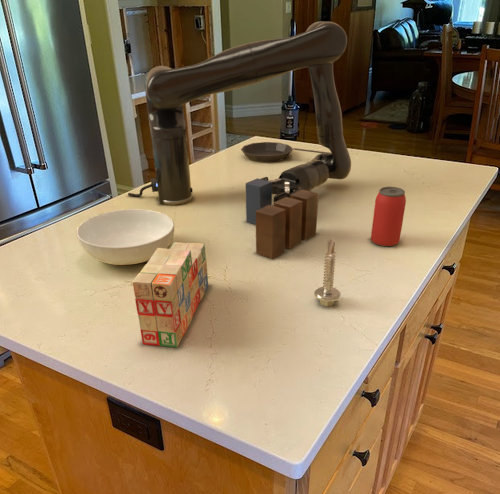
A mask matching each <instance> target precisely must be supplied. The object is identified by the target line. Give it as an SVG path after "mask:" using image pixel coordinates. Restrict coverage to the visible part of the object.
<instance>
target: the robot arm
mask: <svg viewBox="0 0 500 494" xmlns="http://www.w3.org/2000/svg"><path fill="white" fill-rule="evenodd" d="M347 45H348V36H347V33H346V31H345V30H344V28H343V27H342V26H341V25H339V24H337V23H336V22H334V21H324V20H323V21H322V20H321V21H316V22H313V23H312V24H310V25H309V26H308V27H307V29H306V30H305V31H304V32H301V33H298V34H296V35H293V36H288V37H282V38H272V39H263V40H257V41H251V42H247V43H243V44H239V45H237V46H233V47H230V48H227V49H225V50H222V51H221V52H218V53H217V54H215V55H213V56H211V57H209V58H207V59H205V60H204V61H201V62H198V63H196V64H192V65H187V66H182V67H176V68H172V67H169V66H166V65H157V66H155V67H153V68H151V69H150V70H149V71H148V73H147V74H146V76H145V79H144V92H145V100H146V109H147V116H148V124H149V131H150V138H151V146H152V154H153V161H154V162H153V163H154V171H155V173H154V174H155V177H154V178H153V177H152V178H150V184H147V185H145V186H143V187H141V188H140V189H139V193H134V192H133V193H132V192H128V193H127V196H129V197H133V198H140V197H142V196H143V192H144V191H146V190H147V189H149V188H151V192H152V193H157V198H158V202H159V205H167V206H168V205H169V206H174V205H176V206H177V205H183V204H187V203H189V202H191V201H192V199H193V193H194V192H193V188H192V182H191V170H190V158H189V148H188V147H189V146H188V135H187V124H186V119H185V111H184V105H186V104H189V103H190V102H193V101H196V100H198V99H200V98H203V97H206V96H210V95H216V94H221V93H224V92H225V93H226V92H230V91H234V90H238V89H243V88H246V87H249V86H253V85H257V84H260V83H262V82H265V81H268V80H272V79H273V78H278V76H279V77H280V76H282V75H284V74H288V73H290V72H293V71H296V70H301V69H304V68H308V71H309V77H310V82H311V88H312V93H313V94H312V95H313V100H314V102H313V103H314V111H315V120H316V122H315V123H316V124H315V125H316V134H317V141H318V144H319V146H321V147H323V148H327V149H328V150H329V151H330V152H328V153H317V155H315V156H314V157H313V158H312V160H311V161H308V162H306V163H302V164H298V165H296V166H294V167H290V168H289V169H286V170H284V171H282V172H281V173H280V174H279V177H278V178H275V179H271V180H270V179H269V177H268V176H264V177H261V178H260V179H262V180H266V181H270V182H272V196H273V195H274V196H273V203H274V202H276V201H278V200H280V199H283V198H285V197H288V198H290V195H291V194H293V193H296V192H298V191H300V190H306V191H310V192H312V190H314V189H316V188H318V187H320V186H322V185H324V184H325V183H326V182H327V181H328V179H329V180H330V179H331V180H344V179H346V178H347V177H348V176H349V175H350V173H351V170H352V160H351V156H350V153H349V149H348V147H347V143H346V141H345V137H344V127H343V114H342V108H341V107H342V106H341V103H340V99H339V95H338V92H337V88H336V83H335V76H334V62H336V61H338V60H339V59H340V58H341V57H342V56H343V54H344V53H345V51H346V48H347Z"/></svg>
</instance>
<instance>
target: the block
mask: <svg viewBox="0 0 500 494" xmlns="http://www.w3.org/2000/svg"><path fill="white" fill-rule="evenodd" d="M272 198H273V195H272V182H270V181H266V180H262V179H261V178H258V177H257V178H255V179H252V180H250V181H248V182H245V217H246V218H245V219H246V220H245V221H246V223H249V224H250V225H251V224H252V225H254V226H256V211H257V210H259V209H261V208H263V207H265V206H267V205H272V206H273V199H272Z"/></svg>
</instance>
